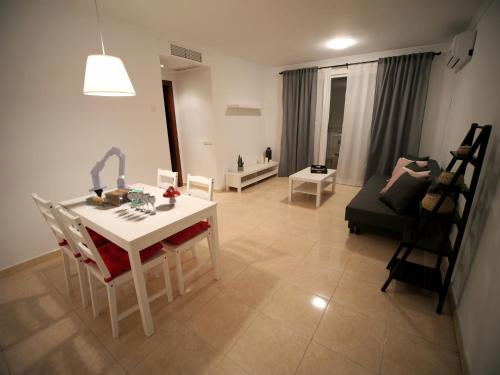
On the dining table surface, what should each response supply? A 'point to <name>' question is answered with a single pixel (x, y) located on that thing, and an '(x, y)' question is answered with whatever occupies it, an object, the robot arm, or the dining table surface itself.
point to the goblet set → (141, 196)
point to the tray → (96, 201)
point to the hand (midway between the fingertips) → (100, 197)
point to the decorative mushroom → (171, 194)
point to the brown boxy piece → (117, 196)
